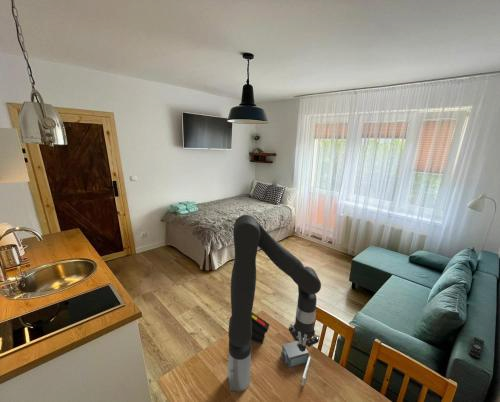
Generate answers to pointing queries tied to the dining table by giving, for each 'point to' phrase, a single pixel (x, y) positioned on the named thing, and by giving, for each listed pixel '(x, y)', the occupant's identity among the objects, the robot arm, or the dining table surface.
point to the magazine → (258, 328)
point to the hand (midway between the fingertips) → (302, 349)
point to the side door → (306, 370)
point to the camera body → (293, 354)
